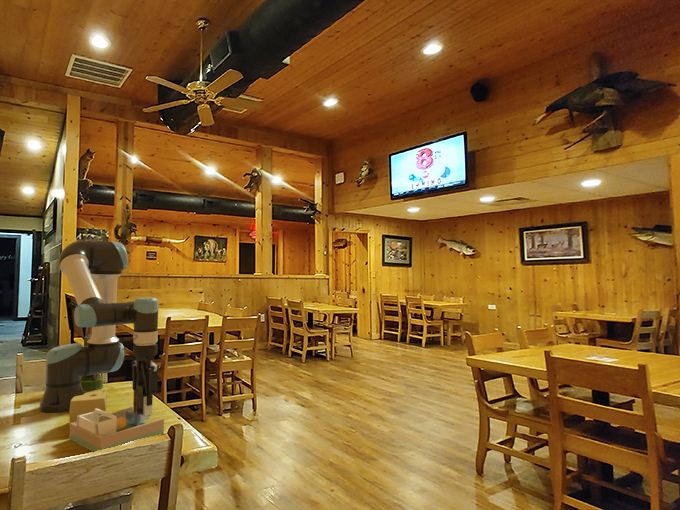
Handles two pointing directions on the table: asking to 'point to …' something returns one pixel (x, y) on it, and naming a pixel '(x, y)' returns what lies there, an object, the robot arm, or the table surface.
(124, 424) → the ball
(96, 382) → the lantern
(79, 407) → the cheese
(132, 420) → the block
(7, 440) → the table surface
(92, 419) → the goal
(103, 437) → the pinkish brown tray
